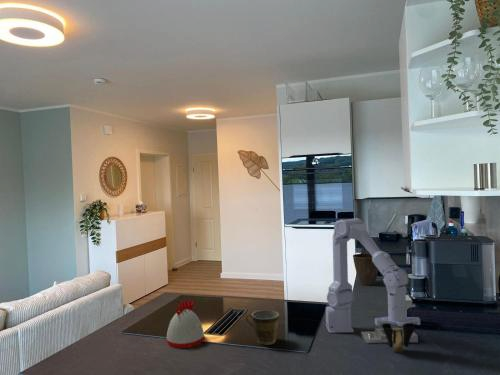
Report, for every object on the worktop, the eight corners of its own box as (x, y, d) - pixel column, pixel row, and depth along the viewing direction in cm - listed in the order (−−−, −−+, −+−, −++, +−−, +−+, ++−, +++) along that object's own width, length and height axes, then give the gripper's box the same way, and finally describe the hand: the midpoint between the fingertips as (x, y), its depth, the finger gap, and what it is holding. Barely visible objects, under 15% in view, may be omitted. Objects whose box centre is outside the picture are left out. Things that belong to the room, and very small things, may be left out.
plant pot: (349, 281, 221) (348, 254, 221) (374, 279, 223) (373, 252, 223) (359, 288, 206) (359, 258, 206) (386, 286, 208) (385, 257, 208)
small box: (413, 327, 149) (412, 300, 149) (398, 326, 150) (397, 299, 150) (409, 320, 157) (408, 294, 157) (394, 319, 158) (394, 294, 158)
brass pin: (395, 352, 127) (394, 331, 127) (392, 348, 130) (391, 328, 130) (404, 352, 127) (403, 331, 127) (401, 348, 130) (400, 328, 130)
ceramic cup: (283, 338, 142) (282, 311, 142) (274, 349, 133) (273, 320, 133) (252, 333, 148) (251, 307, 148) (240, 343, 139) (239, 316, 139)
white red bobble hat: (211, 339, 144) (210, 299, 144) (181, 351, 134) (180, 308, 134) (188, 330, 153) (187, 293, 153) (159, 341, 143) (158, 301, 143)
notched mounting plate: (366, 343, 135) (366, 334, 135) (361, 334, 143) (360, 327, 143) (417, 342, 135) (417, 334, 135) (409, 334, 142) (409, 326, 142)
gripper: (378, 309, 125) (380, 351, 125) (423, 309, 124) (424, 350, 125) (372, 303, 132) (373, 342, 132) (415, 302, 132) (416, 341, 132)
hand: (398, 345), depth 129 cm, fingers open, 5 cm apart
